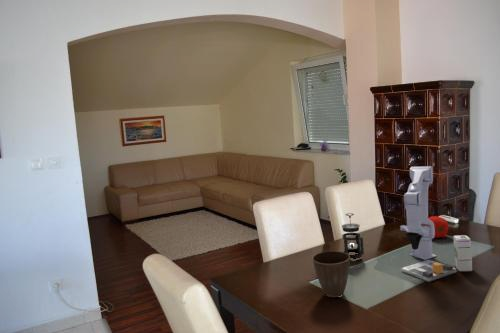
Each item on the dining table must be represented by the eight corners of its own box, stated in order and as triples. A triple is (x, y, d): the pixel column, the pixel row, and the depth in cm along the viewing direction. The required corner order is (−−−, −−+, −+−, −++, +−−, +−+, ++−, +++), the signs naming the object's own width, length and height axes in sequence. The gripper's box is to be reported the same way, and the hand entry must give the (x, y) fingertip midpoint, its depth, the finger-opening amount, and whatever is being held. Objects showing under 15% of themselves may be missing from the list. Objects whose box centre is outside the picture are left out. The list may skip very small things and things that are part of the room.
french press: (338, 258, 210) (335, 214, 207) (350, 253, 215) (347, 210, 213) (357, 263, 200) (353, 217, 198) (369, 258, 206) (366, 213, 203)
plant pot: (345, 305, 159) (342, 265, 157) (310, 299, 167) (306, 261, 165) (357, 289, 171) (354, 252, 170) (323, 285, 179) (320, 249, 178)
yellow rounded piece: (432, 271, 178) (432, 263, 177) (437, 270, 179) (436, 262, 179) (438, 273, 175) (438, 265, 175) (442, 272, 176) (442, 264, 176)
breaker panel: (401, 271, 186) (401, 265, 185) (428, 262, 193) (428, 256, 192) (428, 281, 172) (428, 274, 172) (456, 271, 179) (456, 265, 179)
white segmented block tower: (472, 271, 178) (471, 238, 177) (458, 271, 179) (456, 239, 178) (468, 266, 184) (467, 234, 182) (454, 266, 185) (452, 235, 183)
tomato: (428, 238, 235) (438, 246, 222) (415, 222, 234) (424, 228, 221) (447, 225, 234) (457, 232, 220) (434, 208, 233) (443, 214, 219)
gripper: (394, 217, 186) (396, 246, 188) (420, 223, 173) (421, 255, 175) (406, 215, 189) (407, 243, 191) (432, 220, 176) (433, 251, 178)
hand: (415, 248), depth 183 cm, fingers closed
